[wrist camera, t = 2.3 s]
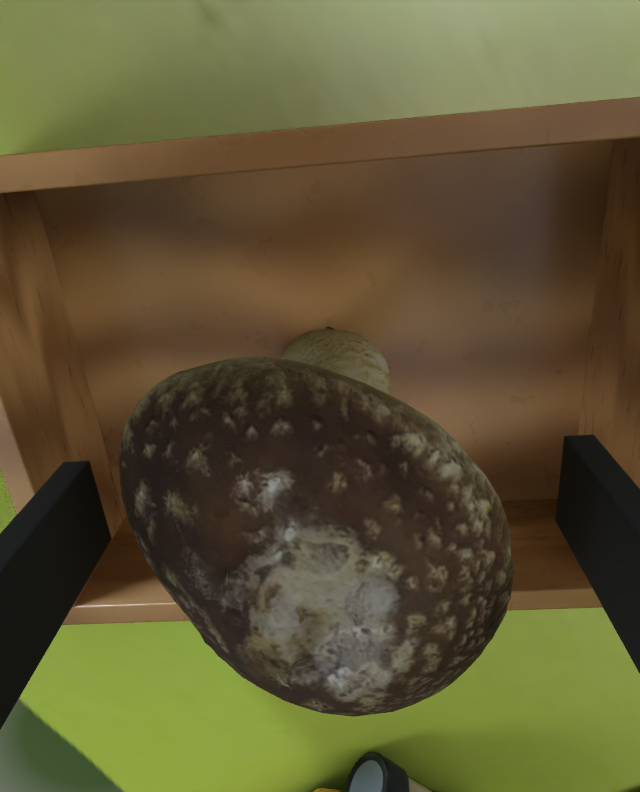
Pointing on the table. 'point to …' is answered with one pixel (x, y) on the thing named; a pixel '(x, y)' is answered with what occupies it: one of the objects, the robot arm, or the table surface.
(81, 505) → the robot arm
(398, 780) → the toy roller
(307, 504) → the mushroom
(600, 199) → the crate
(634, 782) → the table surface
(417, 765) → the table surface
